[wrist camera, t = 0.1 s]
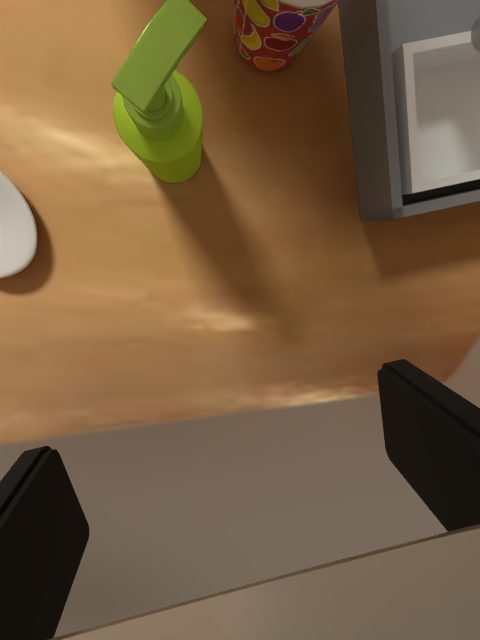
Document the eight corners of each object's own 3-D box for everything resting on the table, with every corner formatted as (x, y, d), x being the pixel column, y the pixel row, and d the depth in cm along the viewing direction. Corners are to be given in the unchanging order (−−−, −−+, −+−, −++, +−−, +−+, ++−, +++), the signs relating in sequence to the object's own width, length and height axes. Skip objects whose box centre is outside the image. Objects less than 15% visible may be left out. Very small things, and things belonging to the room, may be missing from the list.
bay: (328, -91, 32) (361, -174, 26) (522, -124, 33) (603, -212, 27) (360, 220, 40) (393, 219, 33) (517, 186, 41) (579, 179, 34)
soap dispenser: (219, 139, 36) (241, 45, 17) (179, 195, 37) (158, 164, 18) (171, 98, 35) (138, -55, 16) (131, 157, 36) (54, 80, 17)
